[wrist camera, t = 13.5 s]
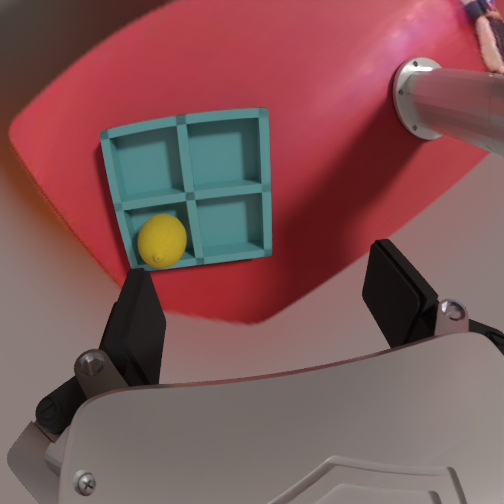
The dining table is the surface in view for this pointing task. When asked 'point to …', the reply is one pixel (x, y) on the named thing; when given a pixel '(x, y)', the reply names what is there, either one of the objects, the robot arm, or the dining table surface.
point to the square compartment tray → (194, 182)
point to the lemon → (161, 240)
